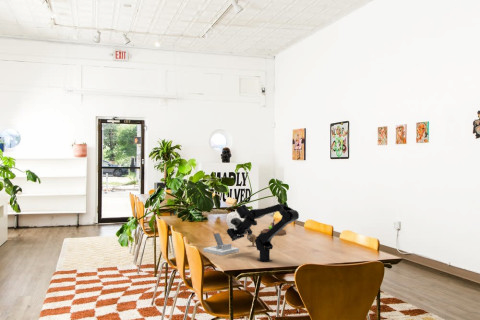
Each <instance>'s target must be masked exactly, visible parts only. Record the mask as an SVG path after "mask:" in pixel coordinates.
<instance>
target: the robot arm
mask: <svg viewBox="0 0 480 320" xmlns="http://www.w3.org/2000/svg"><path fill="white" fill-rule="evenodd" d="M235 211H236V212H235V213H237V214H239V218H240V217H241V219H242V218H243V219H244V220H243V221H242V220H240V219H238V218H237V217H235V218H234V217H233V219H232V220H231V219H230V220H231V225H232V224H233V225H235V226H236V227H234V228H236V229H237V230H234V228H228V229H226V233H227V235H228V236H229V238H230V239H231V241H232V242H234V241H236V240H239V239H242V238H245V236H247V235H248V236H249V235H251V234H253V230H252V228H251V227H252V226H253V227H254V226H257V225H258V222H257V220H258V219H261V218H263V217H265V216H266V215H269V214H274V213H277V212H278V213H279V214H280V216H281V219H280V220H279V221H277V224H276V223H275V224H276V225H275V224H274V225H275V226H273V227H272V226H271V227H272V228H271V229H270V230H269V231H268V232H265V233H261V232H260V233H259V234H258V235H257V236H256V239H255V243H254V245H255V247H256V250H257V251H259V258H257V260H258V261H259V262H272V259H271V257H270V256H271V255H270V253H271V250H273V247H274V246H273V244H272V243H271V242H272V239H273V238H274V237H276V236H275V235H276V234H277V233H278V232H280V231H281V230H282V229H283V230H284V228H285V227H286V226H287V225H289V224H291V223H294V222H295V221H297V220H299V218H300V215H299V211H297V210H295V209H293V208H292V207H289V206H288V205H286V204H284V203H277V204H275V205H271V206H268V207H263V208H254V209H248V207H247V206H246V204H242V205H240V206H238V207H237V208H236V209H235ZM256 219H257V220H256ZM264 246H265V247H264Z"/></svg>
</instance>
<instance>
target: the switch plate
mask: <svg viewBox="0 0 480 320" xmlns="http://www.w3.org/2000/svg"><path fill="white" fill-rule="evenodd" d="M223 244H224V245H222V248H219V245H212V246H209V247H204V248H202V251H203V252H204V253H209V254H213V255H219V256H225V255H226V256H227V255H230V253H231V254H233V253H234V252H235V253H238V252H240V248H239V247H234V246H233V245H232V244H233V243H223ZM235 253H234V254H235Z"/></svg>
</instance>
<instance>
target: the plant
mask: <svg viewBox="0 0 480 320" xmlns="http://www.w3.org/2000/svg"><path fill="white" fill-rule="evenodd" d="M275 222H276V219H273V220H272V222H271V223H270V225H268V226H267V228H264V229H262V230H260V233H265V232H268V231H269V230H270V229H271V228H272V227H273V226H275V225H276V224H277V223H278V222H277V223H275ZM285 235H287V231H286V230H285V229H284V228H283V229H282V230H281V231H280V232H278V233H277V234H276V235H275V236H274V237H282V236H285Z"/></svg>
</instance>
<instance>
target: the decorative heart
mask: <svg viewBox="0 0 480 320" xmlns="http://www.w3.org/2000/svg"><path fill="white" fill-rule="evenodd" d="M233 218H238V219H240V220H241V221H242V222H243V220H244V219H243V218H241V217H240V216H239V214H238V213H237V212H235V211H231V212H228V213H227V215H226V220H225V221H226V224H227V226H228V229H230V228H234V230H237V229H236V228H235V227H236V226H235V225H233V224H231V220H232V219H233Z"/></svg>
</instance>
